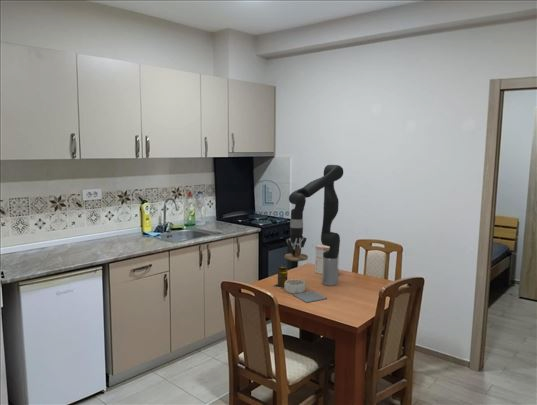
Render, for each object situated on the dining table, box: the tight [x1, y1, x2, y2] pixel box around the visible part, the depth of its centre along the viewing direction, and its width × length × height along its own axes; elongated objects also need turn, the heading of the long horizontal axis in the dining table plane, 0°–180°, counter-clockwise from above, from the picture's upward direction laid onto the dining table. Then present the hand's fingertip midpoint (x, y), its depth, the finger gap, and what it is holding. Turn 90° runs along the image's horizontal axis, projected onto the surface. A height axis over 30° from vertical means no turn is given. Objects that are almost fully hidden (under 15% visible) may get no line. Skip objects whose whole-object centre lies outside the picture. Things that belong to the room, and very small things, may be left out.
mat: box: [292, 290, 328, 304], centre depth 244 cm, size 14×14×1 cm
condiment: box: [272, 265, 288, 289], centre depth 262 cm, size 7×8×12 cm
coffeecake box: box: [314, 243, 340, 275], centre depth 290 cm, size 15×7×20 cm, turn 52°
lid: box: [283, 246, 309, 262], centre depth 252 cm, size 14×14×6 cm
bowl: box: [283, 278, 307, 295], centre depth 255 cm, size 12×12×5 cm
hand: (296, 254), depth 252 cm, fingers closed on lid, 3 cm apart
